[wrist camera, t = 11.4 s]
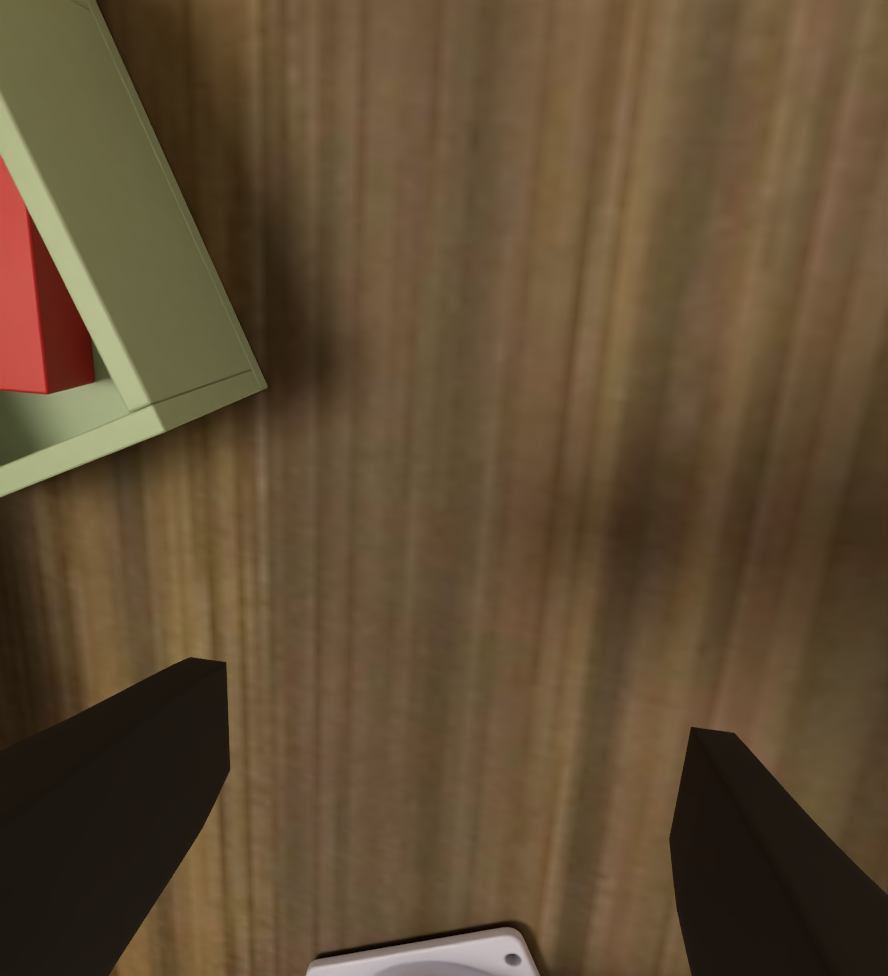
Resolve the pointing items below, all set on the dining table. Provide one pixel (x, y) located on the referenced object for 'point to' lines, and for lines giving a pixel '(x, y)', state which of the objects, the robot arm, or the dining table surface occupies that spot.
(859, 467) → the dining table surface
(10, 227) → the red rectangular block
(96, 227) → the green open box
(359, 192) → the dining table surface
